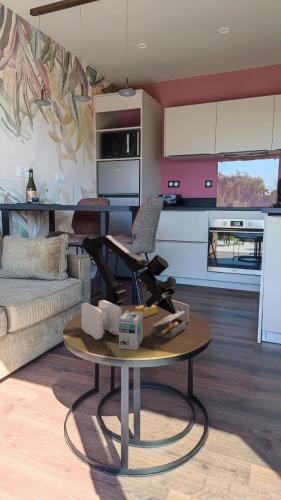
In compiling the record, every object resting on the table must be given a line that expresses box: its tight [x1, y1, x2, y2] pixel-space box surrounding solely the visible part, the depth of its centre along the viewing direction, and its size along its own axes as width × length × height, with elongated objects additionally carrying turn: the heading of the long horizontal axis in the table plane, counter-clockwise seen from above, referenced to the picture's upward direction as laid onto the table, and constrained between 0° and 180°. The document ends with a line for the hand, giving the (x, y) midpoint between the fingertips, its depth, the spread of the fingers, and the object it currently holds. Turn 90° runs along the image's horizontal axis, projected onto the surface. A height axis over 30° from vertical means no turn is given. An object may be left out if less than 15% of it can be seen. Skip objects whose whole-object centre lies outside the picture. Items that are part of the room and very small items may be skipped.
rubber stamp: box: [134, 288, 158, 318], centre depth 155 cm, size 10×6×12 cm, turn 139°
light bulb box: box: [118, 310, 144, 351], centre depth 118 cm, size 11×7×11 cm, turn 168°
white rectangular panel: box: [152, 311, 185, 327], centre depth 133 cm, size 8×14×1 cm, turn 151°
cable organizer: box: [81, 299, 123, 341], centre depth 128 cm, size 15×11×12 cm
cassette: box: [168, 299, 190, 323], centre depth 150 cm, size 12×2×8 cm, turn 37°
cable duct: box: [152, 321, 187, 340], centre depth 133 cm, size 8×14×3 cm, turn 150°
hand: (175, 313), depth 131 cm, fingers closed
